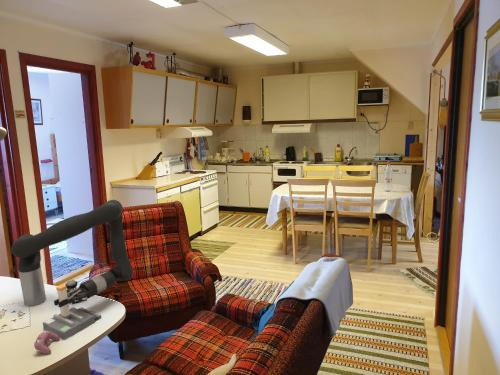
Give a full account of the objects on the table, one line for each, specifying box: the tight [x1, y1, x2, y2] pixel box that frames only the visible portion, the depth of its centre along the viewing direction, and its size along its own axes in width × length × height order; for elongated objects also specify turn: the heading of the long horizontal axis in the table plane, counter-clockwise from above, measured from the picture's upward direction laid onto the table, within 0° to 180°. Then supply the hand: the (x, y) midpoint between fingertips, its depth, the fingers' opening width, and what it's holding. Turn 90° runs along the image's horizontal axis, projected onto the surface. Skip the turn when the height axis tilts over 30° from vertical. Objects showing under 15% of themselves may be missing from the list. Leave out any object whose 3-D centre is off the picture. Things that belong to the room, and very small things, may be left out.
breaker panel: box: [42, 306, 96, 341], centre depth 159 cm, size 15×14×4 cm
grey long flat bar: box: [78, 306, 102, 322], centre depth 167 cm, size 14×3×1 cm, turn 58°
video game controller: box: [33, 330, 61, 355], centre depth 145 cm, size 10×5×7 cm, turn 5°
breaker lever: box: [55, 284, 70, 319], centre depth 159 cm, size 3×3×14 cm
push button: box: [64, 279, 78, 297], centre depth 179 cm, size 7×5×10 cm
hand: (56, 304), depth 156 cm, fingers closed on breaker lever, 2 cm apart
